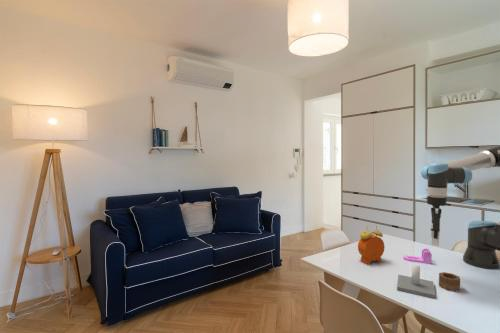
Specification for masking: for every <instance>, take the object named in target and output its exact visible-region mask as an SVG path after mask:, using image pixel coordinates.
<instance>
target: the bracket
mask: <svg viewBox="0 0 500 333" xmlns="http://www.w3.org/2000/svg"><path fill="white" fill-rule="evenodd" d="M432 255H433V254H432V252H431V250H430V249H429V248H427V247H424V248H422V250H421V256H413V255H407V254H406V255H403V257H402V258H403V260H404V261H407V262H413V263H419V264H425V265H427V264H428V265H432V258H433V257H432Z"/></svg>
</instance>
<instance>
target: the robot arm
mask: <svg viewBox="0 0 500 333" xmlns="http://www.w3.org/2000/svg"><path fill="white" fill-rule="evenodd" d="M428 164H429V165H425V166H424V167H422V169H421V172H420V174H421V177H422V178H423V179H424V180H427V188H425V191H427V193H426V195H427V196H426V204H428V205H429V206H432V207H430V213H431V214H430V215H431V228H430V238H431V246H437V247H439V246H440V231H441V229H440V228H441V227H440V226H441V217H442V215H441V214H442V208H440V206H442V207H444V206H445V207H446V206H447V196H448V184H460V185H463V184H468V183H470V182H471V180H473V173H472V172H473V171H476V170H480V169H483V168H484V169H490V168H500V145H499V146H496V147H491V148H487V149H484V150H481V151H479V152H478V153H477V154H473V155H469V156H465V157H463V158H458V159H455V160H451V161H447V162H444V163H443V162H440V163H438V162H433V163H432V162H431V163H428ZM496 251H499V252H500V221H498V222H495V221H488V220H471V221H469V223H468V227H467V247H466V249H465V251H464V253H463V255H462V261H463V262H465V263H466V264H469V265H471V266H474V267H476V268H477V267H478V268H482V269H488V270H491V269H492V270H496V269H499V268H500V261H499V258H498V254H497V252H496Z"/></svg>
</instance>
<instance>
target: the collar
mask: <svg viewBox="0 0 500 333" xmlns="http://www.w3.org/2000/svg"><path fill="white" fill-rule="evenodd" d="M438 286H439V288H442V289H444V290H445V291H446V290H447V291H450V292H458V291H460V290H461V289H460V288H461V278H460V276H458V275H457V274H454V273H451V272H446V271H445V272H443V271H442V272H439V273H438Z"/></svg>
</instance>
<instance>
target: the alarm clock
mask: <svg viewBox="0 0 500 333" xmlns="http://www.w3.org/2000/svg"><path fill="white" fill-rule="evenodd" d="M371 226H372V227H373V226H375V229H374V230H372V231H371V232H370V231H368V230H363V231H362V232H361V233H360V235H359V236H360V239H359V240H358V243H357V250H358V252H359V254H360V256H361V257H360V262H362V263H364V264H366V265H369V264H371V263H372V261H373V262H374V261H375V262H377V263H382V262H383V261H382V259H381V257H382V256H383V254H384V252H385V242H384V240H383V239H382V238H383V235H384V234H383V233H382V232H381V231H380V230H378V229H377V225H375V224H374V225H371ZM368 227H369V225H367V226H366V228H368Z"/></svg>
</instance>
